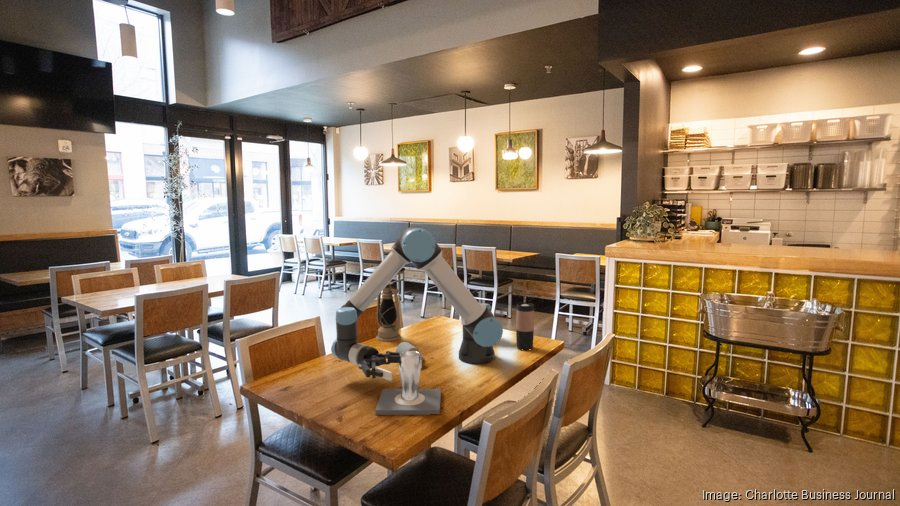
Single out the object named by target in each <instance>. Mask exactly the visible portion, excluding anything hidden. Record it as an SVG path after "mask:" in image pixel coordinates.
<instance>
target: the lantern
mask: <svg viewBox="0 0 900 506" xmlns="http://www.w3.org/2000/svg"><path fill="white" fill-rule="evenodd" d="M393 284H394V283H393V282H392V281H390V282H389V283H388V285H387V286H386V287H385V288H384V289H383V290H382V292H381V293H380V294H379V295H378V296H377V300H376V301H377V302H376V324H377V325H378V327H379V328H378V329H377V335H376V337H375V339H376V341H380V342H385V343H386V342H388V343H389V342H395V340H396V341H398V339H399V340H401V338H402V336H401V334H400V332H399V329H400V328H401V323H400V322H401V318H400V303H399V297H398V293H399V292H400V291H399V289H398V288H393V286H392V285H393ZM393 295H394V298H393ZM381 296H382V301H381Z"/></svg>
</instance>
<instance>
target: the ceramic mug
mask: <svg viewBox="0 0 900 506" xmlns="http://www.w3.org/2000/svg"><path fill="white" fill-rule="evenodd" d="M404 351H416V352H419V353H420V350H419V349H418V348H417V347H416V346H415V345H413V344H411V343H409V342H407V341H403V342H400V343H399V344H397V347H396V348H395V352H398V353H401V352H404ZM424 357H425V356H424V355H422V354H420V360H422V361H423V360H424Z"/></svg>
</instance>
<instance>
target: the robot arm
mask: <svg viewBox="0 0 900 506" xmlns="http://www.w3.org/2000/svg"><path fill="white" fill-rule="evenodd" d="M390 248H391V249H390V252H389V253H388V254H387V255H386V257H385V258H383V260H382V261H381V262H380V264H379V265H378V266H377V267H376V268H375V269H374V270H373V272H371V274H370V275H369V276H368V277H367V278H366V279H365V281H364V282H363V283H362V284H361V285H360V287H359V288H357V290H356V291H355V292H354V293H353V294H352V296H351V297H350V298H349V299H348V300H347V301H346V303H344V304H343V305H341V306H340V308H337V309H336V311H335V326H336V327H335V328H336V331H335V332H336V339H335V340H334V341H333V342H332V345H331V347H330V351H331V354H332V355H333V356H334V357H336V358H338V360H340V361H345V362H348V363H351V364H352V365H353V364H354V365H356V366H358V369H360V370H361V371H362V373H363V374H364V376H365V377H366V378H370V377H371V378H372V379H376V377H378V378H381V379H383V380H386V381H389V382H392V381H393V373H392V371H389V370H387V369H384V368H382V367H380V366H383V365H384V366H385V365H390V364H399V358H400V353H398V352H396V351H394V352H393V351H390V350H386V352H385V353H380V352H379V350H378V349H377V348H376V347H372V346H369V345H366V344H362V343H361V342H360V343H359V342H358V319H359V318H360V317H361V316H362V315H363V313H364V312H365V311H366V310H367V309H368V307H369V306H370V305H371V304H372V303H373V302H374V301H375V300H376V298H378V295H379V294H380V293H382V292H383V289H384V288H385V287H386V286H389V285H388V283H389V282H392V280H393V279H394V278H395V277H396V275H398V273H399V272H400V271H401V270H402V269H403V268H404V267H405V266H406V265H407V264H410V263H411V264H413V265H414V267H415V268H416V270H418V271H424V273H425V274H426V275H427V276H428V277H429V279H430V280H431V281H432V283H434V285H435V286H436V287H437V289H438V291H440V293H441V294H442V295H443V296H444V298H446V300H447V301H448V303H449V304H450V305H451V306H452V307H453V309H454V310H455V311H456V312H457V314H458V315H459V316H460V318H461V317H462V319H461V321H460V323H461V325H462V341H461V344H460V347H459V350H458V359H459V360H460V361H462V362H464V363H468V364H473V363H474V365H475V364H476V363H481V364H487V362H488V363H490V361H491V362H493V361H494V360H495V357H496V355H495V354H496V353H495V350H494V346H495V345H497V344H498V342H500V340H501V339H502V337H503V333H504V328H503V325H502V323H501V322H500V320H499V319H497V317H496V316H495V315H494V313H493V312H492V308H491V304H489V303H485V302H480V303H479V301H478V300H477V299H476V298H475V296H474V295H473V293H471V291H470V290H469V289H468V288H467V287H468V286H466V285H465V284H464V282H463V281H462V280H461V279H460V277H459V276H458V274H457V273H456V272H455V271H454V270H453V268H452V267H451V266H450V264H449V263H448V262H447V260H446V259H445V258H444V257H443V249H442V247H440V245H439V244H438V243H437V241H436V240H435V238H434V236H433V234H432V233H431V232H430V231H428V230H427V229H425V228H423V227H421V226H416V225H415V226H414V225H413V226H410V227H407V228H405V229H404V230H403V231H402V233H400V235H399V237H398V238H397V240H396V241H395V242H394V244H393V245H392V246H391V247H390ZM491 312H492V313H493V314H492V313H491ZM493 359H494V360H493ZM492 360H493V361H492ZM422 361H423V360H420V370H421V369H422V368H423V367H422V365H423V363H422Z"/></svg>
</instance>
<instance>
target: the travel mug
mask: <svg viewBox="0 0 900 506" xmlns="http://www.w3.org/2000/svg"><path fill="white" fill-rule="evenodd" d="M534 307H535V304H534V303H532V302H529V303H525V302H518V303H517V304H516V318H515V320H516V323H515V324H516V325H515V327H516V328H515V330H516V331H515V332H516V333H515V334H516V337H515V338H516V349H517V348H519V349H523V350H529V349H532V348H534V331H535V330H534V329H535V328H534V327H535V324H534V322H535V321H534V320H535V308H534ZM519 349H518V350H519ZM532 350H533V349H532ZM529 351H530V350H529Z"/></svg>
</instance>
